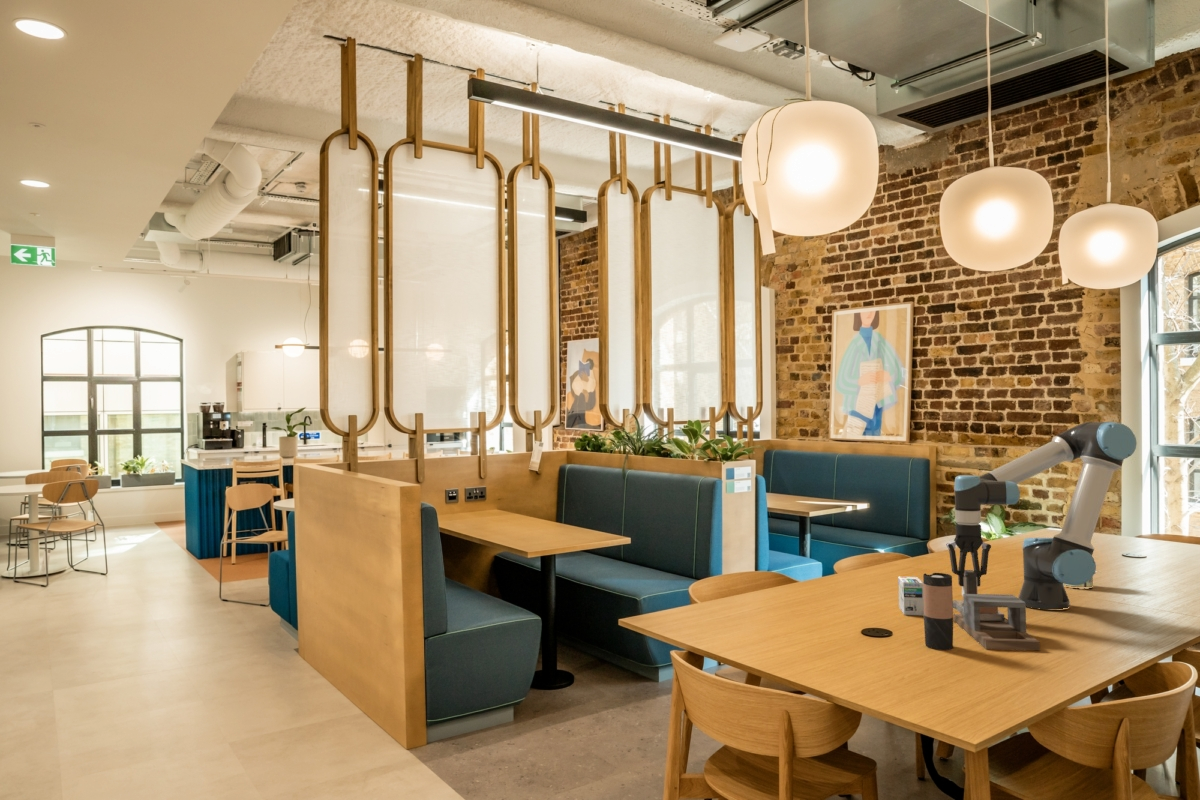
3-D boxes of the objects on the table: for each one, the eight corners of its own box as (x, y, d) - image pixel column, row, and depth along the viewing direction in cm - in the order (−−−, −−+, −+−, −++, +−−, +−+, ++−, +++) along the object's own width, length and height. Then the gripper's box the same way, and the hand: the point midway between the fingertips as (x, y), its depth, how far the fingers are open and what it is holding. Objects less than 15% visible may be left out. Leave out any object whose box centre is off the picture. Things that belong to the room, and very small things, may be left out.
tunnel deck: (954, 621, 248) (953, 586, 248) (1001, 623, 246) (1000, 587, 246) (985, 649, 218) (985, 609, 219) (1039, 650, 216) (1038, 610, 217)
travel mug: (951, 651, 216) (950, 578, 217) (922, 647, 220) (920, 576, 221) (955, 644, 223) (954, 574, 223) (926, 641, 227) (925, 571, 227)
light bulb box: (925, 616, 255) (924, 582, 255) (903, 615, 256) (903, 582, 257) (919, 608, 266) (918, 576, 266) (898, 607, 267) (897, 575, 267)
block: (991, 616, 245) (990, 599, 245) (998, 621, 239) (997, 604, 239) (967, 615, 246) (967, 599, 246) (973, 620, 240) (973, 603, 240)
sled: (952, 606, 256) (952, 569, 256) (985, 607, 254) (984, 570, 254) (969, 620, 239) (968, 580, 239) (1004, 621, 237) (1003, 581, 238)
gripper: (989, 522, 257) (991, 594, 257) (939, 521, 260) (941, 593, 259) (997, 525, 250) (999, 599, 249) (946, 524, 252) (947, 598, 251)
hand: (969, 596), depth 254 cm, fingers closed on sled, 2 cm apart
